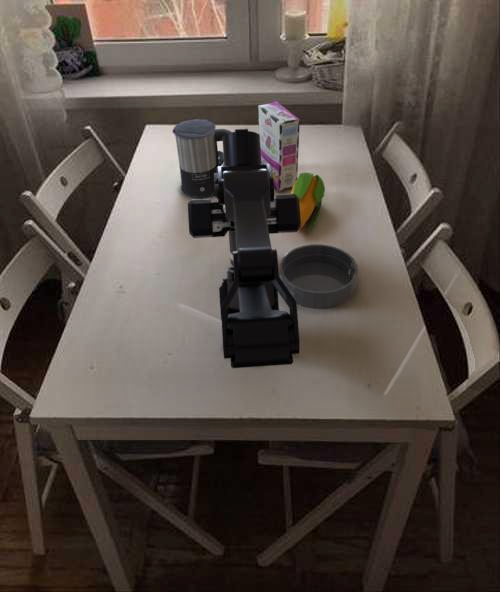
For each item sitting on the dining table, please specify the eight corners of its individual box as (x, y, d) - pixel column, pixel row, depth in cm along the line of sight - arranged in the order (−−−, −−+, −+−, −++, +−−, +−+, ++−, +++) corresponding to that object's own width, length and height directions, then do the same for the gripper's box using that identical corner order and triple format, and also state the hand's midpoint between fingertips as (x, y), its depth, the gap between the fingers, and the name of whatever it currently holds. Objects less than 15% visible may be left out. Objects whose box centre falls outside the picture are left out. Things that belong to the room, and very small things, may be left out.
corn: (328, 163, 123) (312, 213, 108) (328, 194, 128) (313, 246, 113) (294, 162, 125) (274, 211, 110) (296, 192, 129) (277, 243, 115)
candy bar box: (298, 187, 131) (301, 119, 120) (279, 192, 129) (280, 124, 118) (276, 165, 138) (277, 100, 127) (258, 170, 137) (256, 104, 126)
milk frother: (189, 202, 127) (182, 141, 117) (163, 172, 137) (155, 113, 127) (246, 186, 132) (243, 125, 122) (216, 157, 142) (212, 100, 132)
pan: (334, 320, 97) (336, 303, 95) (265, 292, 103) (265, 275, 101) (368, 276, 106) (370, 259, 103) (302, 252, 112) (303, 236, 109)
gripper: (300, 152, 89) (291, 179, 105) (182, 159, 88) (190, 185, 104) (305, 222, 88) (295, 239, 104) (186, 229, 88) (193, 245, 103)
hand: (243, 225), depth 104 cm, fingers closed on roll, 5 cm apart
